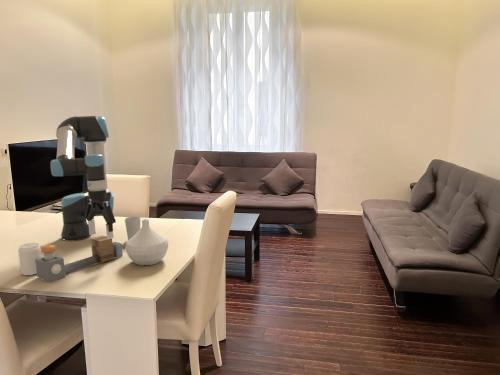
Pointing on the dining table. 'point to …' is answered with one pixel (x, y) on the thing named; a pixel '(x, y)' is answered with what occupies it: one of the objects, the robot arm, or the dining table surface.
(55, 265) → the housing
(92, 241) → the carriage
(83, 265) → the rail
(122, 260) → the dining table surface
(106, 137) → the robot arm
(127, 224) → the cup
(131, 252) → the vase
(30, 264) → the beverage can
